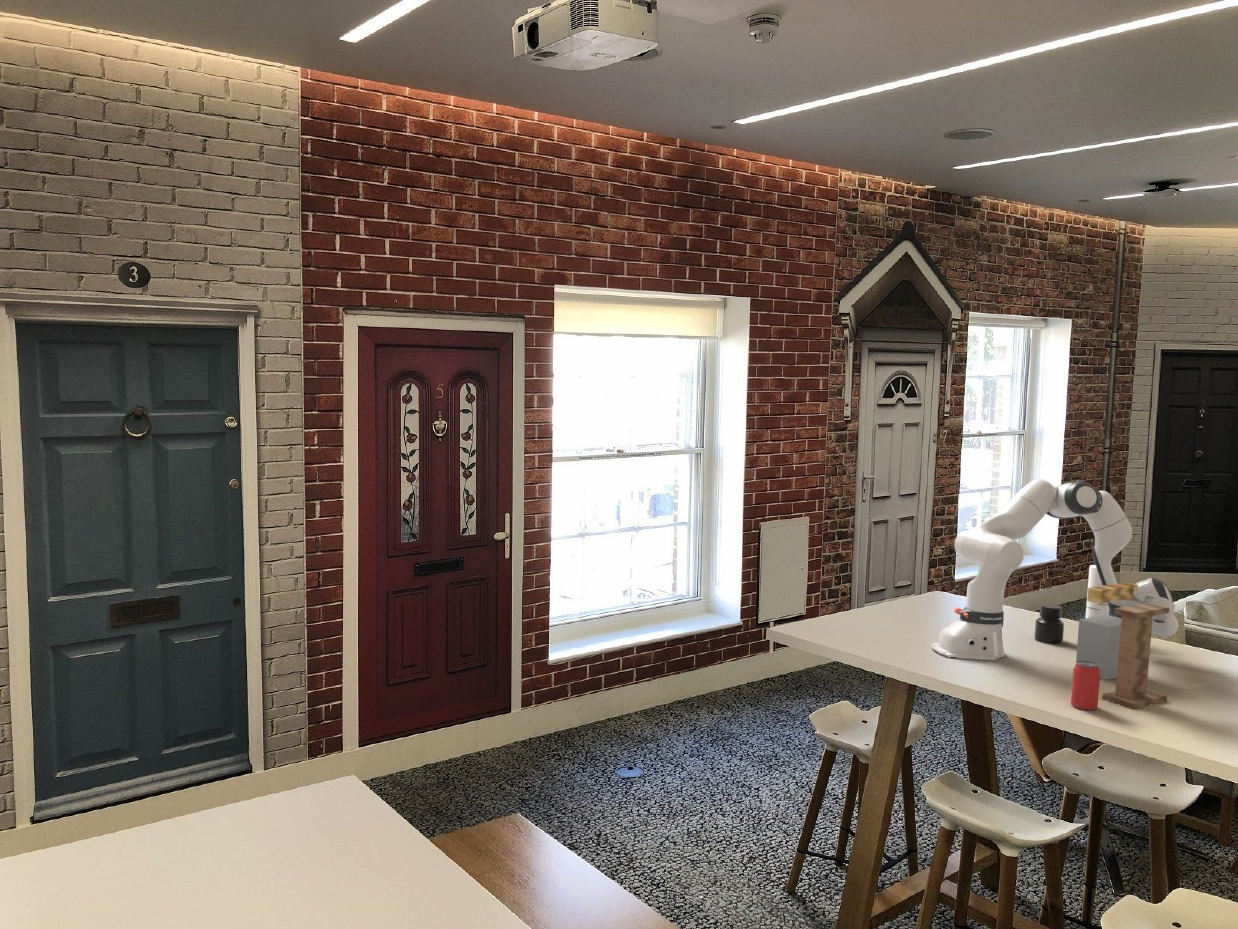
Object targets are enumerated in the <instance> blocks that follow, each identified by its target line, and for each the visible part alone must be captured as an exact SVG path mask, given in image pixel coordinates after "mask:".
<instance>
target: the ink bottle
mask: <svg viewBox="0 0 1238 929" xmlns="http://www.w3.org/2000/svg"><path fill="white" fill-rule="evenodd" d="M1062 612H1063V607H1062V606H1060V605H1059V604H1052V603H1050V604H1049V603H1042V604H1039V617H1038V618H1037V619H1036V620H1035V626H1034V640H1036V641H1038V642H1041V641H1042V643H1045V644H1062V643H1063V642H1064V633H1065V623H1064V621H1063V620H1061V618H1062Z"/></svg>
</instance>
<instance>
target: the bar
mask: <svg viewBox="0 0 1238 929" xmlns="http://www.w3.org/2000/svg"><path fill="white" fill-rule="evenodd" d="M1135 584H1136V583H1130V582H1120V583H1118V582H1117V584H1112V585H1105V586H1098V587H1091V588H1088V587H1087V593H1088V598H1086V602H1087V601H1089V602H1094V603H1098V604H1102V603H1108V602H1115V601H1121V600H1127V599H1133V598H1136V597H1133V596H1131V595H1130V592H1131V589H1134V590H1137V591H1138V585H1135Z"/></svg>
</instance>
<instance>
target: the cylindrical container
mask: <svg viewBox="0 0 1238 929" xmlns="http://www.w3.org/2000/svg"><path fill="white" fill-rule="evenodd" d="M1112 570H1113V567H1112ZM1098 586H1102V583H1101V580H1100V577H1099V574H1098V571H1097V568H1096V565H1095V564H1091V565H1089V568H1088V582H1087V589H1088V588H1091V587H1098ZM1086 595H1087V596H1086V597H1087V598H1088V592H1087V593H1086ZM1087 598H1086V599H1087ZM1103 615H1109V616H1110V610H1109V607H1108V603H1102V604H1098V603H1094V602H1089V601H1087V600H1086V607H1085V618H1091V617H1097V616H1103Z"/></svg>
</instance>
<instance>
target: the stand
mask: <svg viewBox="0 0 1238 929" xmlns="http://www.w3.org/2000/svg"><path fill="white" fill-rule="evenodd" d="M1166 613H1169V608H1168V607H1164V606H1159V605H1154V604H1150V603H1146V604H1139V605H1133V606H1126V607H1120V608H1114V614H1117V615H1122V618H1121V631H1120V644H1119V656H1118V669H1117V678H1116V681H1115V682H1116V683H1115V690H1114V691H1110V692H1106V693H1102V697H1101V700H1102V699H1103V700H1102V701H1106V700H1108V701H1107V702H1109V701H1110V703H1112V702H1113V704H1117V705H1118V704H1120V705H1119V706H1122V707H1125V708H1128V707H1130V708H1129V709H1131V708H1132V710H1136V709H1139V708H1138V707H1140V708H1144V707H1148V706H1151V705H1150V704H1152V705H1156V704H1160V703H1164V702H1167V701H1168V695H1166V694H1163V693H1160V692H1156V691H1154V690H1150V689H1148V678H1149V675H1148V674H1149V667H1150V666H1149V664H1150V653H1151V643H1152V642H1151V640H1152V632H1151V631H1152V619H1153V616H1154V615H1160V614H1166ZM1166 700H1167V701H1166ZM1163 701H1164V702H1163ZM1147 705H1148V706H1147ZM1135 708H1136V709H1135Z"/></svg>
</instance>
